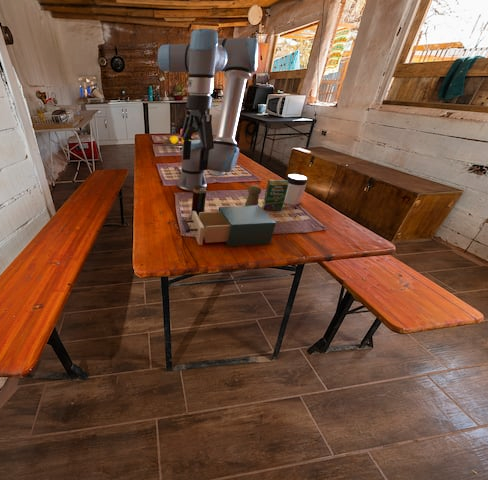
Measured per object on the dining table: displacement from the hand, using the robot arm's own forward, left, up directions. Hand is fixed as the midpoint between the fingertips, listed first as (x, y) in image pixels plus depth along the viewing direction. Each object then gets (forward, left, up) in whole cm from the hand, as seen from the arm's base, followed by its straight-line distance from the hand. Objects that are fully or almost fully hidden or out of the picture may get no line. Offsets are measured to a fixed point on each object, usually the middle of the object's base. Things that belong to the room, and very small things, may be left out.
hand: (194, 164), depth 89 cm
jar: (-16, +52, -24) cm, 60 cm away
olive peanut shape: (-9, +29, -24) cm, 39 cm away
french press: (-61, +29, -24) cm, 72 cm away
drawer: (+11, +5, -22) cm, 25 cm away
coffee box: (-9, +39, -24) cm, 47 cm away
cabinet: (+11, +17, -23) cm, 31 cm away
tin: (-5, +4, -23) cm, 24 cm away
